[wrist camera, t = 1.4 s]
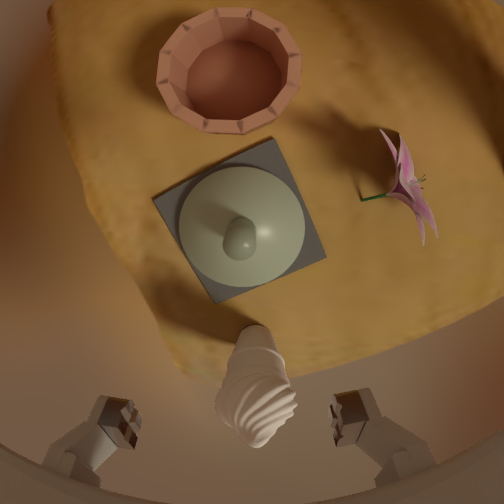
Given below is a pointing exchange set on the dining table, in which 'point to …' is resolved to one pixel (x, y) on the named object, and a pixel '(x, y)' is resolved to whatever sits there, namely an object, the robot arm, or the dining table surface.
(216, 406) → the soft serve ice cream cone
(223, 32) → the bowl
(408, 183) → the lily
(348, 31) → the dining table surface
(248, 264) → the lid
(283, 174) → the mat
